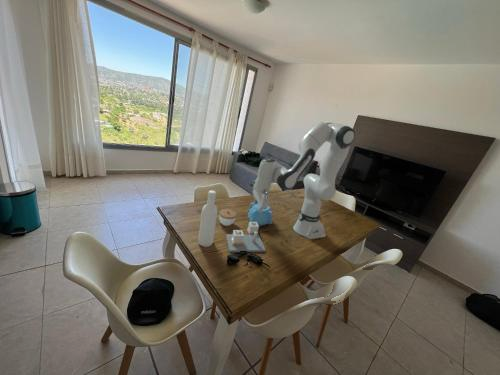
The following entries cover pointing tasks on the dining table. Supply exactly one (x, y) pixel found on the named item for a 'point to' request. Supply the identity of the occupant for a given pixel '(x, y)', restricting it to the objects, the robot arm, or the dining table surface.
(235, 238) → the seated sleeve
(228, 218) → the lidded jar
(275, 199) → the dining table surface
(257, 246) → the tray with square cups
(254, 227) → the sleeve
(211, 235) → the bottle
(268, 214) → the decorative pot
